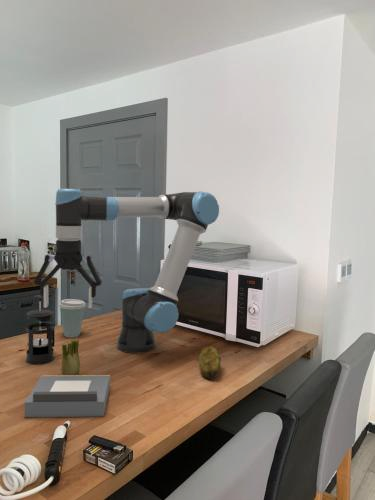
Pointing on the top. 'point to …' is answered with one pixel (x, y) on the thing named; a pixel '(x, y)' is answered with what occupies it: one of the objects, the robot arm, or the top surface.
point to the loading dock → (68, 396)
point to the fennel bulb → (70, 358)
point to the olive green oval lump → (209, 362)
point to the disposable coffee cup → (72, 316)
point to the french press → (40, 347)
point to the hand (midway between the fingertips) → (68, 307)
